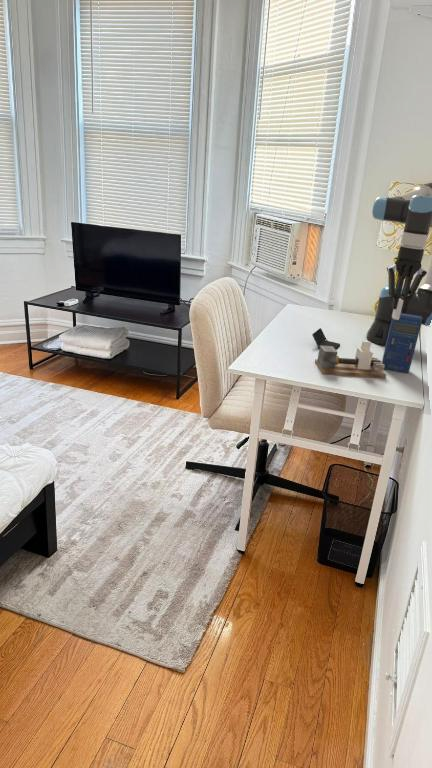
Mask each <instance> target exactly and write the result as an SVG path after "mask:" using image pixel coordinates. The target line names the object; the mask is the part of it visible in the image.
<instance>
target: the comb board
mask: <svg viewBox="0 0 432 768" xmlns="http://www.w3.org/2000/svg"><path fill="white" fill-rule="evenodd" d="M358 361H359V359H355V358H347V357H339V355H338V351H337V349H336V350H335V349H334V347H333V346H320V348H319V349H318V355H317V358H316V359H314V364H315V365H316V366H317V368H318V370H319V371H320V373H322V375H331V376H332V375H333V376H348V377H362V378H375V379H376V378H377V379H386V378H387V374H386V373H385V369H384V366H385V365H384V364H383V363H382V360H380V359H379V358H378V357H374V356H372V360H371V364H370V369H369V370H365V369H358V368H357V366H358Z"/></svg>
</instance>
